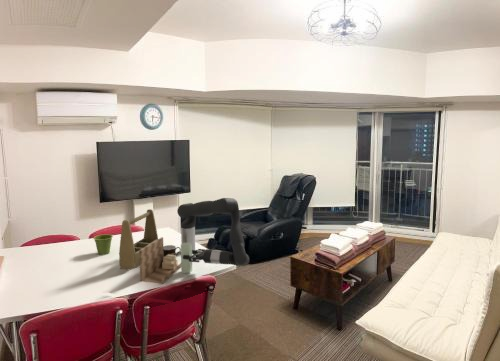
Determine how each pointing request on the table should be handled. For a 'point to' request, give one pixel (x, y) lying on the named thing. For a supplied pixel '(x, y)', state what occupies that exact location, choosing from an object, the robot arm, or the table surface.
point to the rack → (154, 263)
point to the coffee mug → (170, 250)
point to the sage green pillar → (185, 264)
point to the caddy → (130, 250)
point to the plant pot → (103, 243)
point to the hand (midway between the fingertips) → (186, 254)
